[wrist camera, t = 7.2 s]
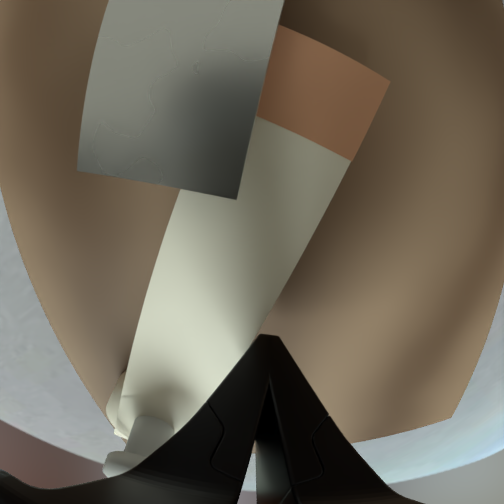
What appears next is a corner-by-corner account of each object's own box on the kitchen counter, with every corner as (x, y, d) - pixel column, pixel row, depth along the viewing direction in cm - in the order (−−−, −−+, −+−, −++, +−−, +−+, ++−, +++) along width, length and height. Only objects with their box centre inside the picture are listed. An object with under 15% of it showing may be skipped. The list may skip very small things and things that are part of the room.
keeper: (137, 149, 8) (76, 171, 5) (195, -69, 5) (169, -127, 2) (246, 169, 8) (236, 200, 5) (302, -57, 5) (318, -118, 2)
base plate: (132, 433, 15) (127, 446, 14) (2, 13, 6) (-13, 10, 5) (445, 405, 13) (451, 417, 13) (466, -51, 5) (479, -59, 4)
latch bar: (195, 434, 13) (181, 510, 9) (113, 404, 12) (85, 476, 8) (383, 96, 7) (481, 90, 3) (239, 28, 6) (216, -49, 2)
